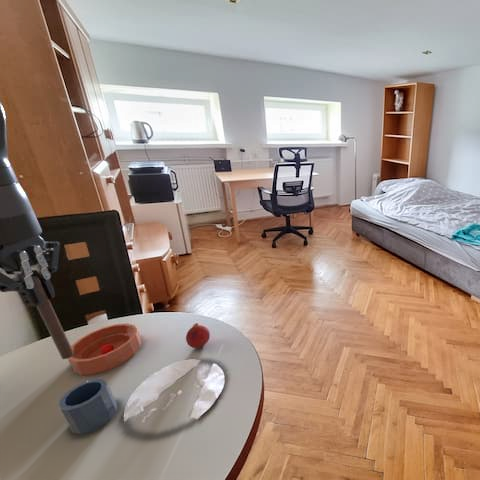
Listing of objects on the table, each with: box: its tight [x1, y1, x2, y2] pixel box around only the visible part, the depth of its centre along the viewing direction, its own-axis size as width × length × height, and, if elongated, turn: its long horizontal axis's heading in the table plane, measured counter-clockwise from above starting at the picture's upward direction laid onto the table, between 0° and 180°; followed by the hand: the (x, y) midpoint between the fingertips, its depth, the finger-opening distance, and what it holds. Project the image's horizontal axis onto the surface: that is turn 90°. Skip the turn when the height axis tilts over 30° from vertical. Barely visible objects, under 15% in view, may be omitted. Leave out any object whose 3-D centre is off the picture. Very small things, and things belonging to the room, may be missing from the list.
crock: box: [57, 378, 118, 435], centre depth 60 cm, size 7×8×8 cm
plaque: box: [123, 358, 226, 423], centre depth 67 cm, size 20×20×2 cm
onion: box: [185, 322, 211, 349], centre depth 80 cm, size 6×6×8 cm
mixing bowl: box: [67, 323, 143, 376], centre depth 78 cm, size 15×15×5 cm
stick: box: [32, 276, 74, 360], centre depth 55 cm, size 2×2×18 cm
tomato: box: [101, 344, 114, 355], centre depth 78 cm, size 3×3×3 cm
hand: (41, 301), depth 53 cm, fingers closed on stick, 2 cm apart
